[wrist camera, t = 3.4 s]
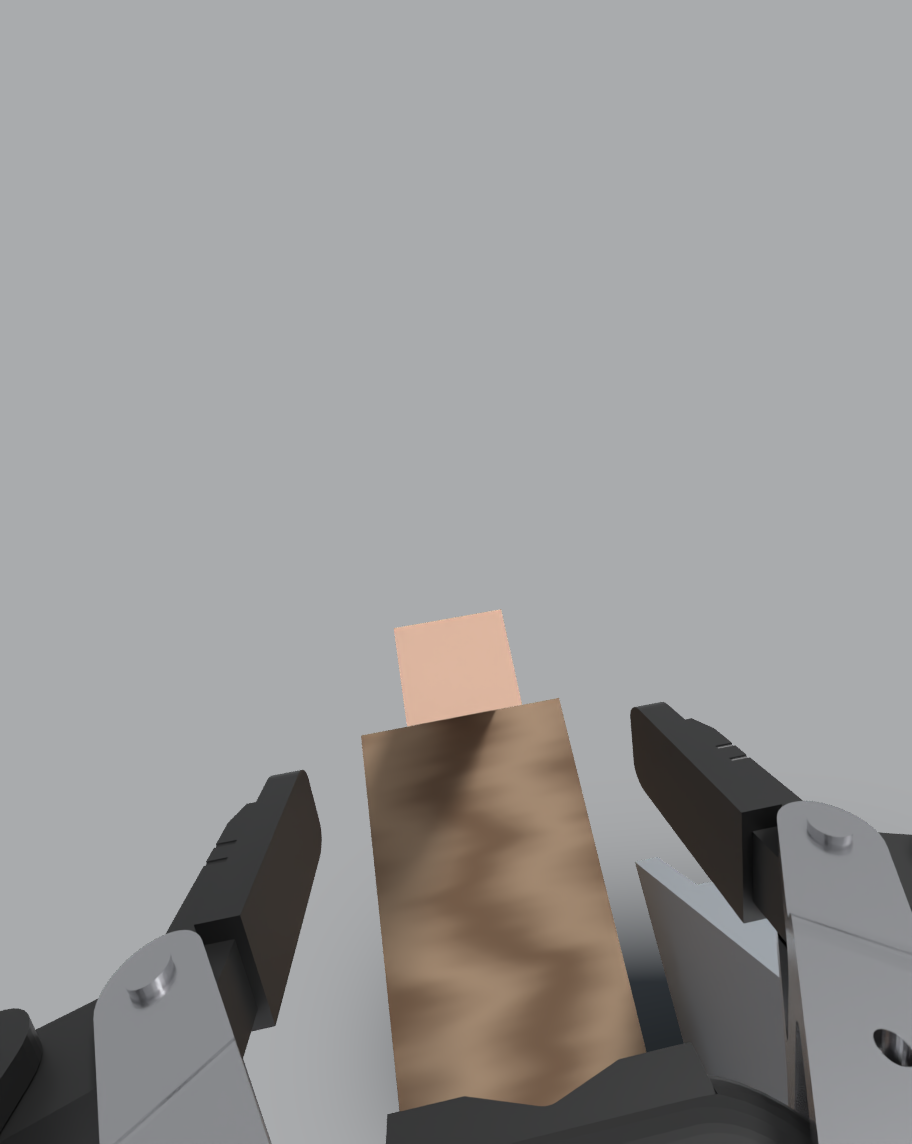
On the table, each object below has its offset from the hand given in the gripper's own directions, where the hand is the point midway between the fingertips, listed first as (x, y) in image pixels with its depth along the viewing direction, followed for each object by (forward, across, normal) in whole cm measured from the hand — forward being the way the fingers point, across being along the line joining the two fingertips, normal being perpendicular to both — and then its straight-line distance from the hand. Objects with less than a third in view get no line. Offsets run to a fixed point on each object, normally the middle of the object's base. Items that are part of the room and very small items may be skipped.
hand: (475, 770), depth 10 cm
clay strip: (+13, 0, +6) cm, 14 cm away
